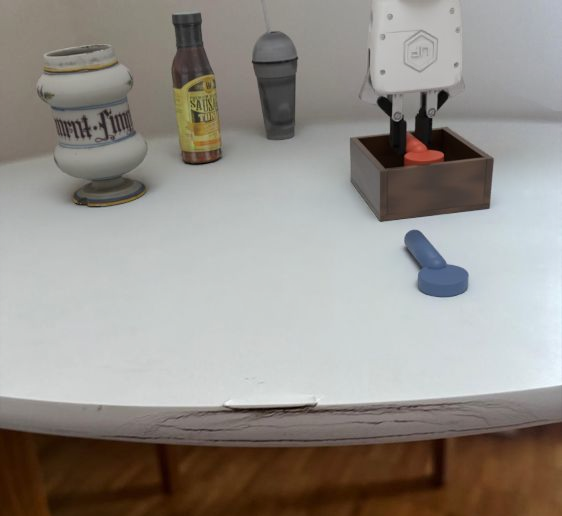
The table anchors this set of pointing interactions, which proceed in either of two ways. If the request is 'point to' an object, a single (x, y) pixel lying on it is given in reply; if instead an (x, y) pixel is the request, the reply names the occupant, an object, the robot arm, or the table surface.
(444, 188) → the bin
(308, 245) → the table surface
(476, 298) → the table surface
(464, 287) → the blue spoon
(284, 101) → the beverage cup
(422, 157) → the red spoon
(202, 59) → the sauce bottle
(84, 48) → the apothecary jar
